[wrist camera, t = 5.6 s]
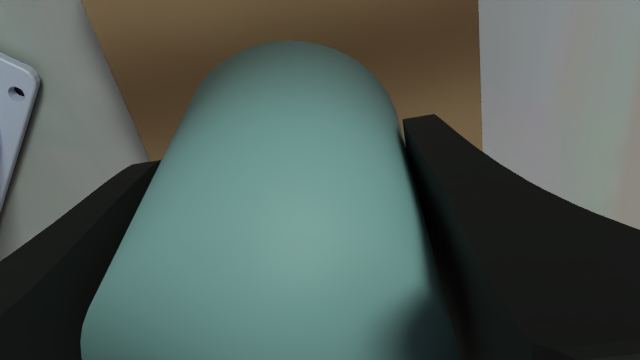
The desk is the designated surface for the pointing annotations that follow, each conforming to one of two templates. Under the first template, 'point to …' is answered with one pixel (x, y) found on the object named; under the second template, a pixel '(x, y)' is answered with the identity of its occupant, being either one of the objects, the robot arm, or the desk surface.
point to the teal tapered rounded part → (278, 226)
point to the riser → (291, 25)
